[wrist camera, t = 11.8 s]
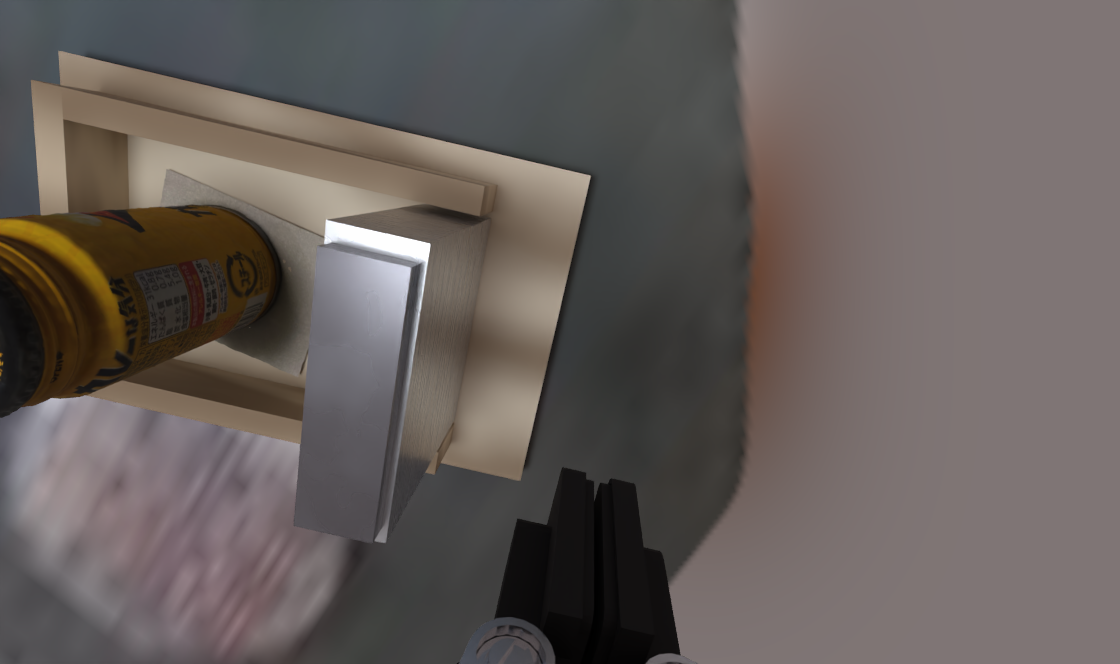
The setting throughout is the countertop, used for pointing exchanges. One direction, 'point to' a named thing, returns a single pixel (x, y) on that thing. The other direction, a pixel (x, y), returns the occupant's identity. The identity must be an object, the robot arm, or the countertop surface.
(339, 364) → the grey flat block
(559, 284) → the wooden tray
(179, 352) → the condiment
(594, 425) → the countertop surface
